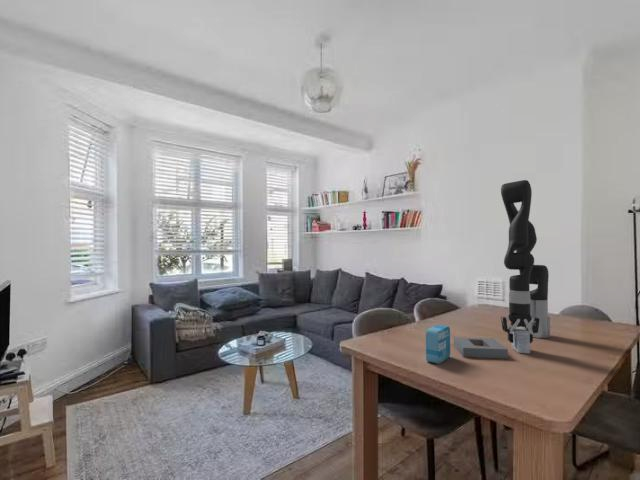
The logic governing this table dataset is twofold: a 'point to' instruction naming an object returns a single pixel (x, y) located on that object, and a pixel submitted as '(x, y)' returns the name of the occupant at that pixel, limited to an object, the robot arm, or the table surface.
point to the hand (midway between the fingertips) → (520, 342)
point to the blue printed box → (437, 344)
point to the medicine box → (521, 340)
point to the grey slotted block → (480, 347)
